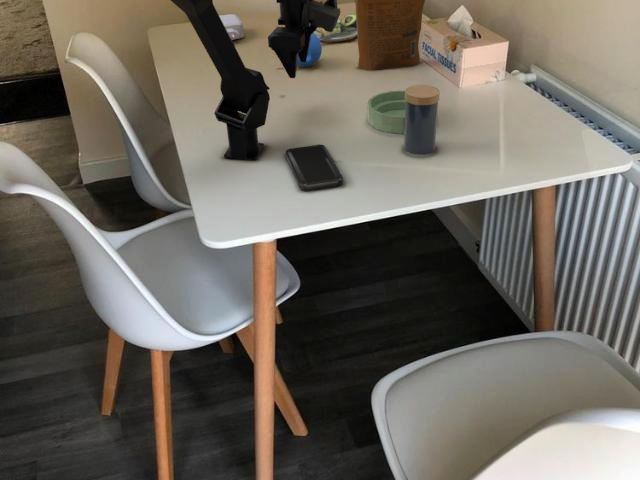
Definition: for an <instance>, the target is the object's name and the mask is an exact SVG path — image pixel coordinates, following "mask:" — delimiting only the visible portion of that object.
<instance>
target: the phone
mask: <svg viewBox="0 0 640 480" xmlns="http://www.w3.org/2000/svg"><path fill="white" fill-rule="evenodd" d="M285 158H286V160H287V162H288V165H289V167H290V169H291V172H292V174H293V176H294V178H295V180H296V182H297V185H298V187H299V189H300V190H301V191H304V192H305V191H306V192H307V191H314V190H321V189H328V188H333V187H340V186H342V185H343V182H344V176H343V175H342V173H341V171H340V169H339V168H338V166H337V165H336V163H335V161H334V159H333V158H332V156H331V154H330V152H329V151H328V149H327V147H326V146H325V145H324V144H313V145H312V144H311V145H306V146H305V145H304V146H299V147H292V148H291V147H290V148H287V149H286V150H285Z"/></svg>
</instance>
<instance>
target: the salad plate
mask: <svg viewBox="0 0 640 480" xmlns="http://www.w3.org/2000/svg"><path fill="white" fill-rule="evenodd" d="M313 34H314V35H316V36H317V37H318V39H319V40H320V43H328V44H329V43H340V42H345V41H346V42H348V41H350V40H352V39H354V38H356V37H357V24H356V13H349V14H346V15H345V16H344V17H343V18H342V19H338V21H337V24H336V27H335V28H334V30H333V31H332V32H328V31H325V30H324V29H323V28H320V27H318V28H317V29H316V30H315V31H314V32H313Z"/></svg>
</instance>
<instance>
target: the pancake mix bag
mask: <svg viewBox="0 0 640 480" xmlns="http://www.w3.org/2000/svg"><path fill="white" fill-rule="evenodd" d="M425 2H426V0H354V5H355V14H356V24H357V36H356V37H357V40H356V41H357V49H358V50H357V51H358V63H357V69H362V70H366V71H377V70H378V71H379V70H386V69H395V68H404V67H413V66H416V65H417V64H419V63H420V61H421V58H420V51H419V50H420V49H419V42H420V34H421V31H422V22H423V21H422V20H423V10H424V6H425Z"/></svg>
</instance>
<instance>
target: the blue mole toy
mask: <svg viewBox="0 0 640 480" xmlns="http://www.w3.org/2000/svg"><path fill="white" fill-rule="evenodd" d="M322 49H323V48H322V42H320V40H319V39H318V37H317V36H316V35H314V34H313V33H312V35H311V40H310V45H309V50H308V55H307V61H306V62H301V61H300V58H299V56H298V60H297V67H298V66H299V67H302V68H308V67H313V65H315V64H316V63H318V62H319V60H320V58H321V56H322V51H323V50H322ZM274 53H275V52H274ZM275 55H276V53H275Z"/></svg>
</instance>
